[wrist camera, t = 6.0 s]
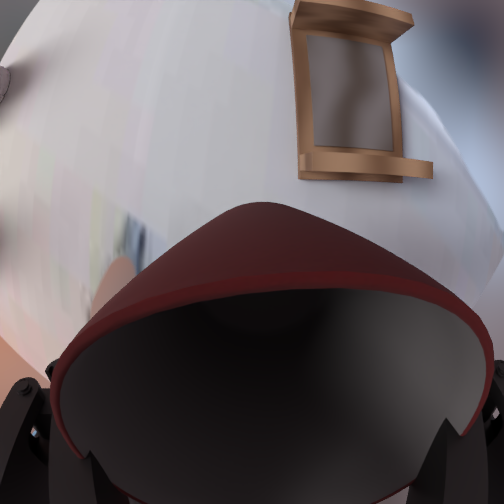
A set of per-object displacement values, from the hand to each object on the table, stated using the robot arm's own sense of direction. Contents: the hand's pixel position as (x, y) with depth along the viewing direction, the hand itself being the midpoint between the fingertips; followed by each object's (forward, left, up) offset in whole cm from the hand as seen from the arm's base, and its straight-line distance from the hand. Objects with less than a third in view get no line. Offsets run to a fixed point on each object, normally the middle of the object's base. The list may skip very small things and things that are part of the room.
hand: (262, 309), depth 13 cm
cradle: (+10, +15, -17) cm, 26 cm away
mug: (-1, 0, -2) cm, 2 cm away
